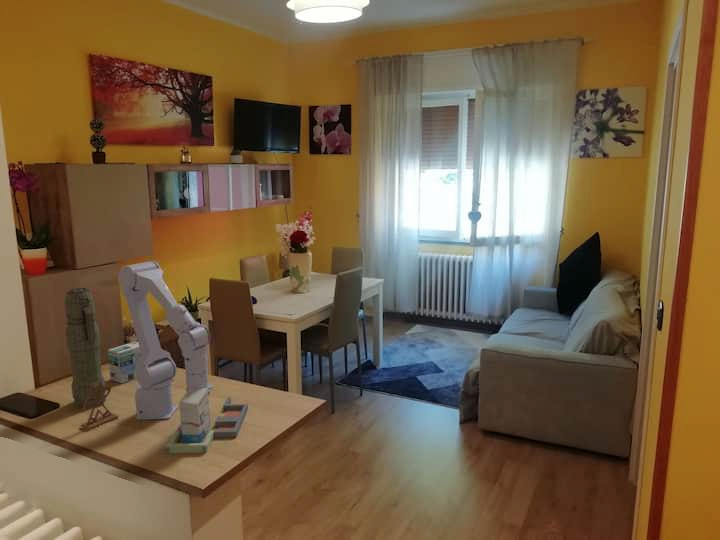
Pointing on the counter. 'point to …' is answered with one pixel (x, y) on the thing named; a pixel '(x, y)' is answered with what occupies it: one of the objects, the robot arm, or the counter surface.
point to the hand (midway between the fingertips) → (200, 418)
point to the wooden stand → (106, 416)
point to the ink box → (195, 415)
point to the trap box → (226, 428)
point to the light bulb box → (123, 362)
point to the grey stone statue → (83, 346)
